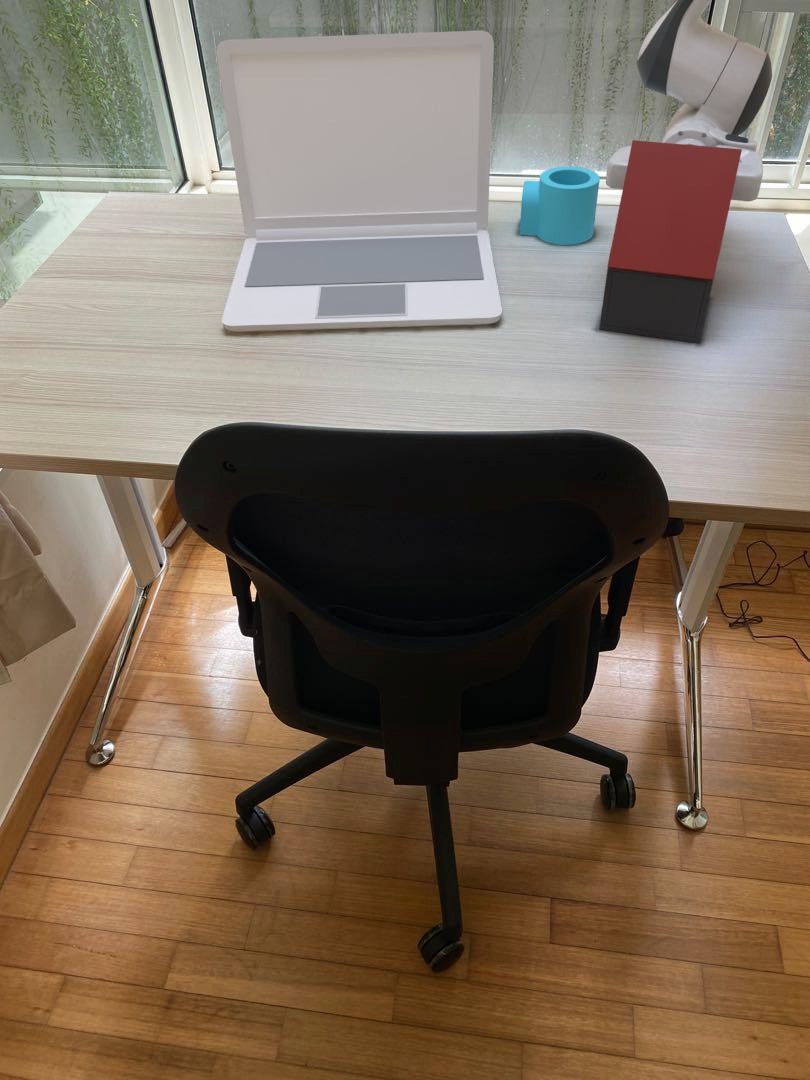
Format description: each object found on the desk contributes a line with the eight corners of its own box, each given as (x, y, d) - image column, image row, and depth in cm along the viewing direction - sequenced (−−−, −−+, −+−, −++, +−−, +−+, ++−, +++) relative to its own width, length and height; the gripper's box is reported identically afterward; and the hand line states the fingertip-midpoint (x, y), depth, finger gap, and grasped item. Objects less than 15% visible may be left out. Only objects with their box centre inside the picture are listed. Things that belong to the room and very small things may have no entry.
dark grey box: (615, 285, 132) (623, 228, 126) (708, 297, 128) (721, 239, 122) (599, 329, 122) (607, 270, 116) (699, 343, 119) (712, 283, 113)
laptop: (221, 337, 124) (176, 104, 103) (248, 243, 147) (216, 37, 126) (502, 328, 123) (514, 92, 102) (486, 235, 146) (493, 26, 125)
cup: (517, 242, 144) (520, 186, 137) (523, 218, 150) (527, 164, 144) (591, 246, 142) (598, 190, 135) (594, 222, 148) (600, 167, 142)
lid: (632, 142, 114) (632, 139, 113) (741, 151, 110) (742, 149, 110) (607, 267, 116) (607, 266, 116) (713, 280, 113) (713, 279, 112)
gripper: (617, 129, 124) (599, 163, 114) (769, 141, 118) (763, 178, 109) (611, 174, 128) (594, 211, 119) (757, 187, 123) (751, 228, 113)
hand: (676, 195), depth 114 cm, fingers closed, pressing on lid
